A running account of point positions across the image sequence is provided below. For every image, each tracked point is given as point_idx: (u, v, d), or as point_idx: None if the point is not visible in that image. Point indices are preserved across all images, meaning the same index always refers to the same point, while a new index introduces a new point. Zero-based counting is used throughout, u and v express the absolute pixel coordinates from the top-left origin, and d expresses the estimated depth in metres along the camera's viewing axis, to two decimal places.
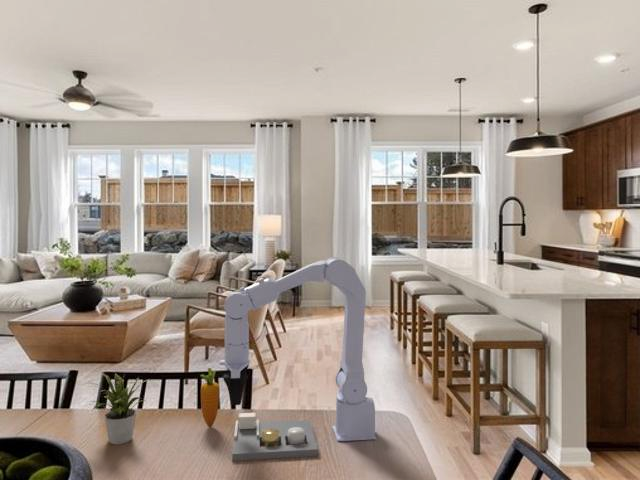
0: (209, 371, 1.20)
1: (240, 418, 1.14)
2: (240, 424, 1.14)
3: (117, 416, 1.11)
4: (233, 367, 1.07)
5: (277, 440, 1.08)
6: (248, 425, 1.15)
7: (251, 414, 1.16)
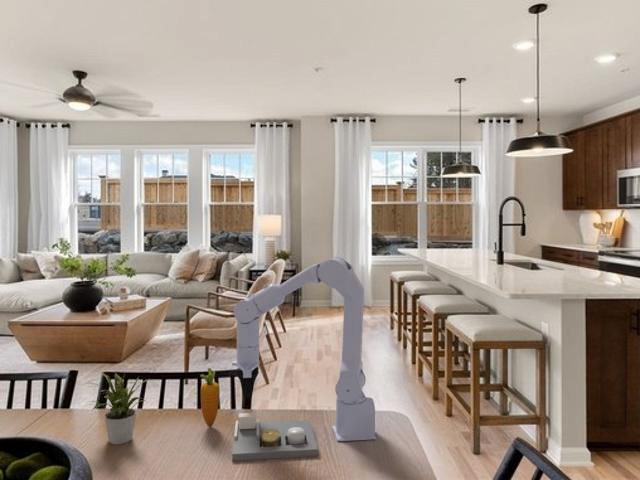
0: (209, 371, 1.20)
1: (240, 418, 1.14)
2: (240, 424, 1.14)
3: (117, 416, 1.11)
4: (245, 367, 1.17)
5: (277, 440, 1.08)
6: (248, 425, 1.15)
7: (251, 414, 1.16)
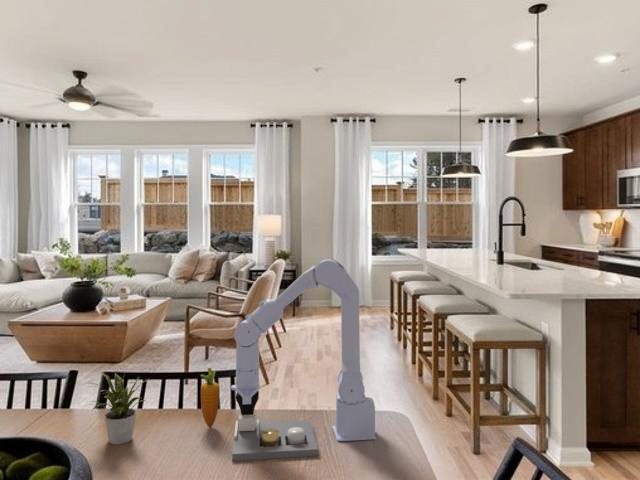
0: (209, 371, 1.20)
1: (240, 420, 1.13)
2: (240, 426, 1.13)
3: (117, 416, 1.11)
4: (244, 393, 1.12)
5: (277, 440, 1.08)
6: (248, 427, 1.14)
7: (251, 416, 1.15)
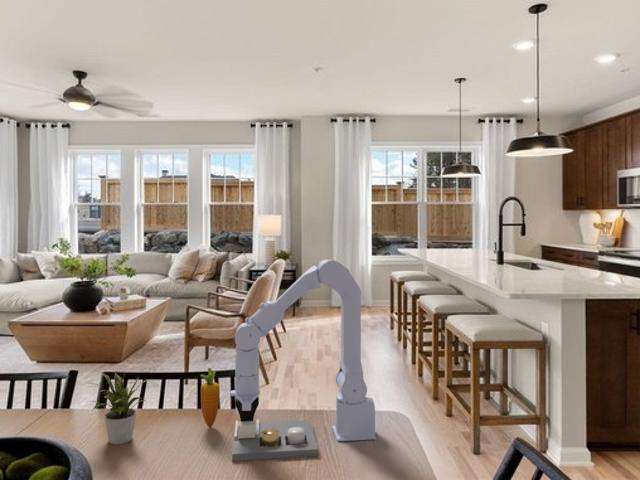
0: (209, 371, 1.20)
1: (239, 427, 1.09)
2: (239, 433, 1.09)
3: (117, 416, 1.11)
4: (244, 399, 1.08)
5: (277, 440, 1.08)
6: (248, 434, 1.10)
7: (251, 422, 1.11)
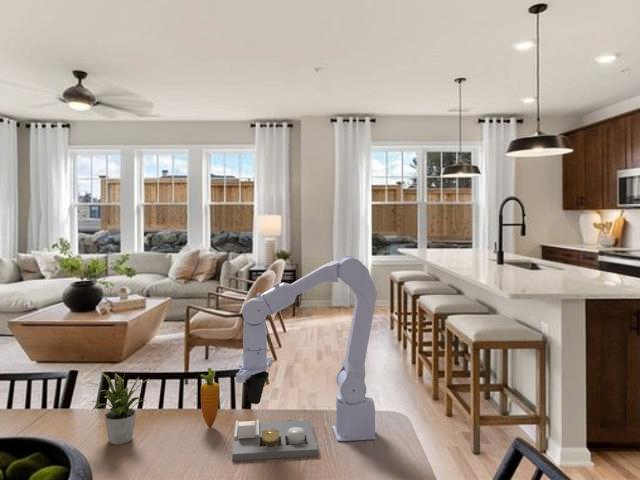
0: (209, 371, 1.20)
1: (239, 427, 1.09)
2: (239, 433, 1.09)
3: (117, 416, 1.11)
4: (243, 371, 1.10)
5: (277, 440, 1.08)
6: (248, 434, 1.10)
7: (251, 422, 1.11)
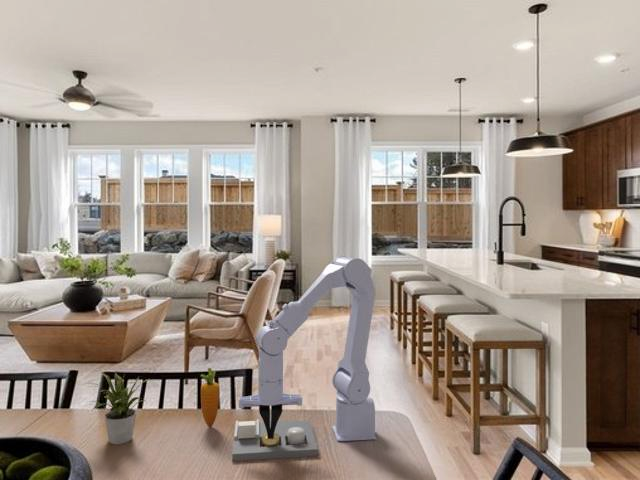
0: (209, 371, 1.20)
1: (239, 427, 1.09)
2: (239, 433, 1.09)
3: (117, 416, 1.11)
4: (250, 398, 1.08)
5: (277, 444, 1.08)
6: (248, 434, 1.10)
7: (251, 422, 1.11)
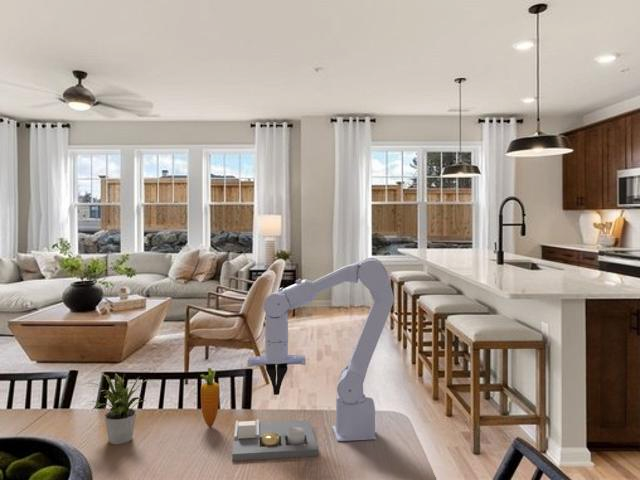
0: (209, 371, 1.20)
1: (239, 427, 1.09)
2: (239, 433, 1.09)
3: (117, 416, 1.11)
4: (257, 358, 1.18)
5: (277, 444, 1.08)
6: (248, 434, 1.10)
7: (251, 422, 1.11)
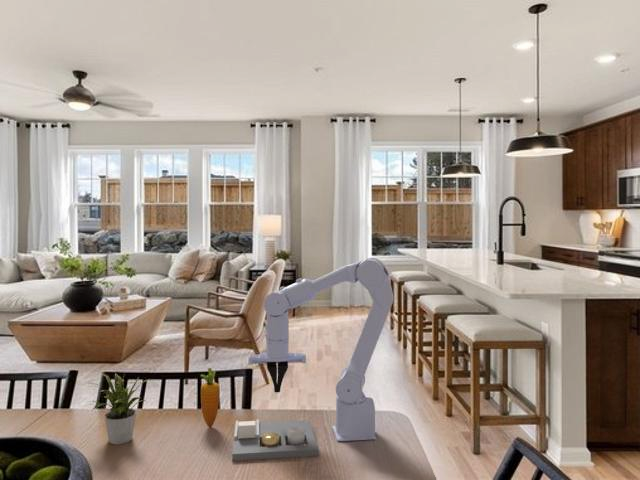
0: (209, 371, 1.20)
1: (239, 427, 1.09)
2: (239, 433, 1.09)
3: (117, 416, 1.11)
4: (258, 356, 1.19)
5: (277, 444, 1.08)
6: (248, 434, 1.10)
7: (251, 422, 1.11)
